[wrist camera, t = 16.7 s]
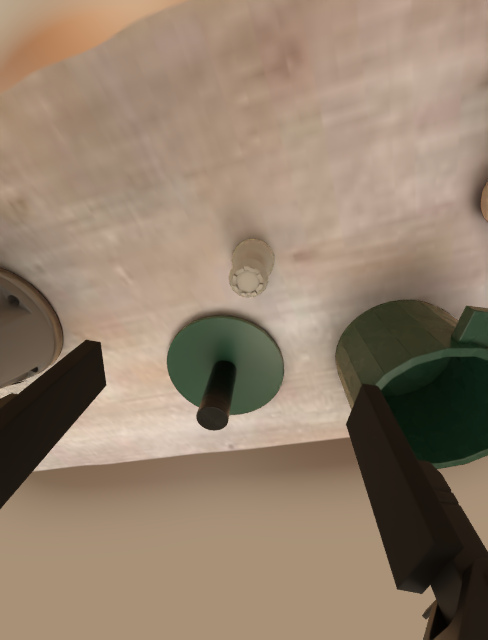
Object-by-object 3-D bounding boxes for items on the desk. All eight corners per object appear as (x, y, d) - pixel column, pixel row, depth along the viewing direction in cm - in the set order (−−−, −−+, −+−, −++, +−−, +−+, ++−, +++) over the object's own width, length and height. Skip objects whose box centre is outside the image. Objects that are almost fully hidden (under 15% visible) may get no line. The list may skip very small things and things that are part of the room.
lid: (170, 400, 39) (143, 457, 31) (168, 305, 32) (133, 345, 24) (274, 415, 38) (274, 477, 30) (293, 321, 32) (300, 368, 23)
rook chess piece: (226, 244, 29) (212, 263, 21) (268, 232, 28) (267, 247, 20) (239, 284, 30) (229, 313, 23) (278, 273, 29) (281, 301, 22)
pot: (319, 405, 37) (335, 475, 28) (360, 268, 28) (401, 304, 19) (421, 419, 36) (470, 495, 27) (493, 284, 28) (598, 329, 19)
